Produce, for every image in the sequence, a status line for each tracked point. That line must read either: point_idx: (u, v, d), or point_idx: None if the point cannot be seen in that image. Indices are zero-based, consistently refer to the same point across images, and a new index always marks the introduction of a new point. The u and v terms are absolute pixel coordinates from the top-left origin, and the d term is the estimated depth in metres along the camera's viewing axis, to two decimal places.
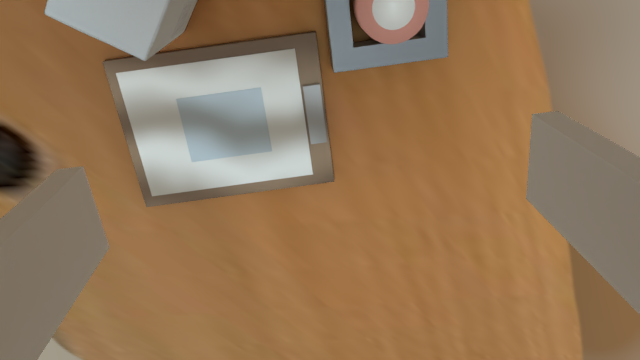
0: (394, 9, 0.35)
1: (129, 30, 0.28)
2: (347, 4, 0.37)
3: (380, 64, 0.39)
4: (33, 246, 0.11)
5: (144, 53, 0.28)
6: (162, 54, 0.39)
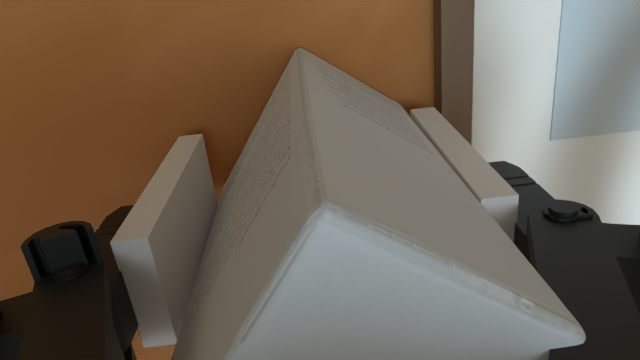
0: None
1: None
2: None
3: None
4: (185, 196, 0.13)
5: (557, 337, 0.06)
6: None
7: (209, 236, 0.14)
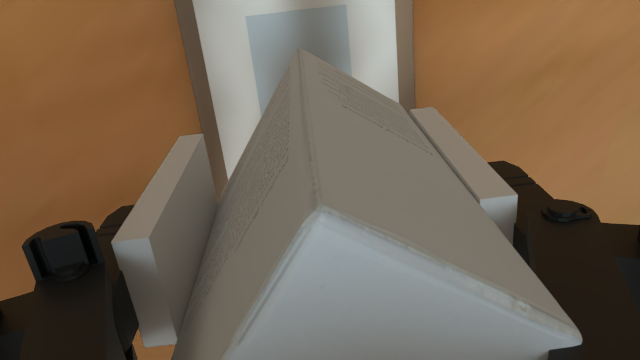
0: None
1: None
2: None
3: None
4: (186, 196, 0.13)
5: (554, 340, 0.06)
6: (206, 145, 0.30)
7: (210, 237, 0.14)
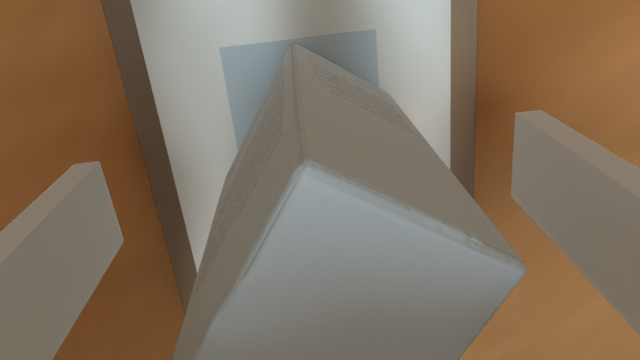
0: None
1: (417, 308, 0.08)
2: None
3: None
4: (54, 238, 0.12)
5: (502, 270, 0.08)
6: (165, 233, 0.21)
7: (215, 216, 0.16)
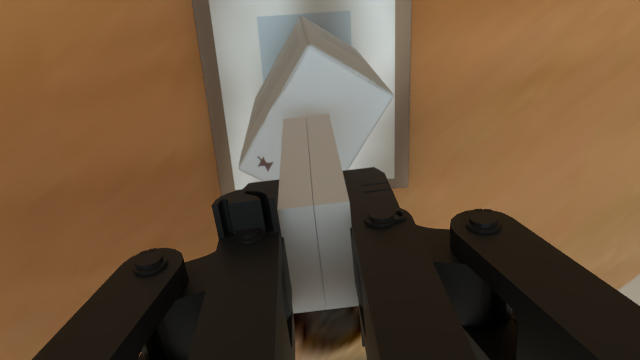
0: None
1: (350, 109, 0.20)
2: None
3: None
4: None
5: (383, 94, 0.20)
6: (213, 135, 0.33)
7: (253, 110, 0.28)
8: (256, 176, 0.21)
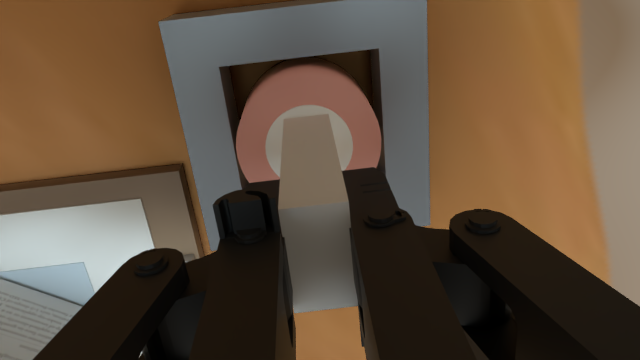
0: None
1: None
2: (227, 133, 0.18)
3: None
4: None
5: None
6: None
7: None
8: None
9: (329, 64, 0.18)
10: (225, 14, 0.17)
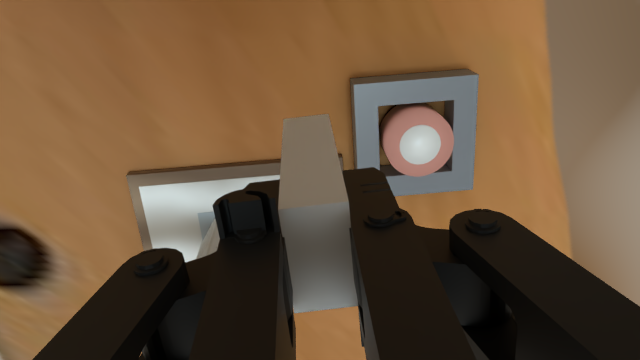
0: (420, 146, 0.36)
1: None
2: (377, 137, 0.37)
3: (405, 193, 0.39)
4: None
5: None
6: (187, 171, 0.39)
7: None
8: None
9: (426, 105, 0.38)
10: (384, 82, 0.35)
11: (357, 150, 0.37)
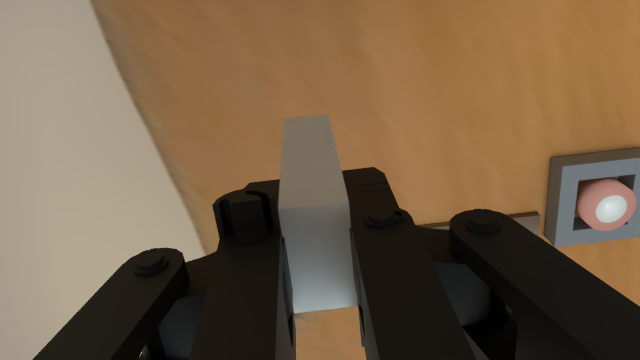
0: (611, 209, 0.48)
1: None
2: (574, 202, 0.49)
3: (590, 241, 0.51)
4: None
5: None
6: None
7: None
8: None
9: None
10: (585, 163, 0.47)
11: (558, 212, 0.49)
